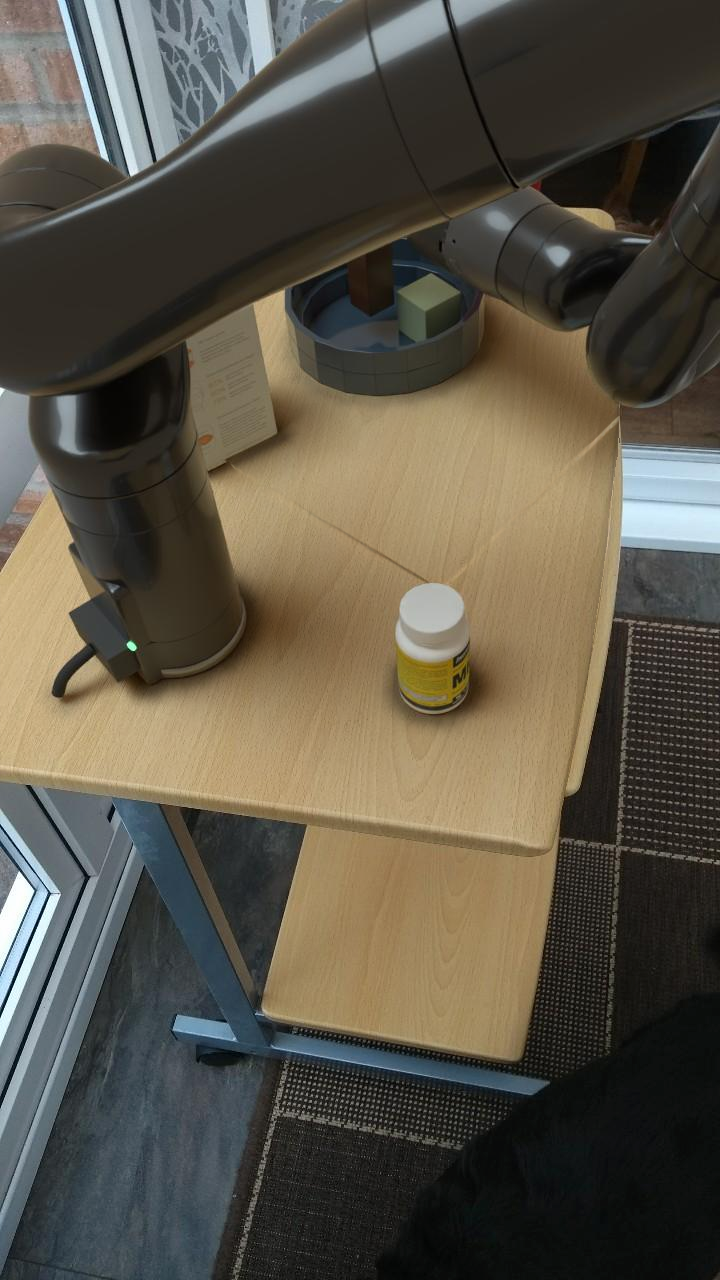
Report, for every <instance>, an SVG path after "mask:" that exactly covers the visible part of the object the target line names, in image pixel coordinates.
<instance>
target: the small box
mask: <svg viewBox="0 0 720 1280" xmlns="http://www.w3.org/2000/svg"><path fill="white" fill-rule="evenodd" d="M257 322H258V321H257V317H256V313H255V307H254V303H253V304H251V305H249V306H247V307H245V308H243V309H241V310H239V311H237V312H235V313H233V314H231V315H230V316H228V317H226V318H224V319H222V320H220V321H219V322H217V323H215V324H213V325H211V326H209V327H208V328H206V329H204V330H203V331H201V332H199V333H197V334H196V335H194V336H192V337H190V338H189V339H187V340H186V344H187V349H188V355H189V362H190V374H191V406H192V412H193V416H194V420H195V424H196V429H197V433H198V437H199V440H200V444H201V448H202V452H203V456H204V460H205V464H206V467H207V471H208V472H210V471H211V470H214V469H216V468H218V467H220V466H221V465H223V464H226V463H228V461H227V459H229V458H231V457H233V456H235V455H238V454H240V453H241V452H243V451H246V450H248V449H250V448H251V447H254V446H256V445H258V444H260V443H262V442H264V441H266V440H268V439H270V438H271V437H274V436H275V435H277V434H278V428H277V421H276V418H275V413H274V412H275V411H274V406H273V399H272V394H271V390H270V385H269V379H268V375H267V370H266V364H265V359H264V354H263V350H262V344H261V338H260V332H259V327H258V323H257Z"/></svg>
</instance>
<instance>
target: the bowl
mask: <svg viewBox="0 0 720 1280" xmlns="http://www.w3.org/2000/svg"><path fill="white" fill-rule="evenodd" d="M391 247H392V265H393V283H394V301H395V304H394V305H392V306H390V307H388V308H386V309H385V310H383V311H381V312H379V313H377V314H375V315H374V316H372V317H369V316H368V315H366V314H365V313H363V312H362V311H360V310H359V309H357V308H356V307H355V306H353V305H352V304H351V301H350V290H349V279H348V269H347V263H346V264H343V265H341V266H339V267H337V268H334V269H332V270H330V271H328V272H325V273H323V274H321V275H318V276H316V277H314V278H312V279H309V280H307V281H305V282H302V283H300V284H297V285H295V286H293V287H290V288H288V289H285V290H284V313H285V314H284V315H285V319H286V320H285V321H286V327H287V332H288V339H289V346H290V351H291V353H292V356H293V357H294V359H295V361H296V362H297V364H298V366H299V367H300V369H301V370H302V371H304V372H305V373H306V374H307V375H309V376H310V377H312V378H313V379H314V380H316V381H317V382H318V383H320V384H323V385H325V386H328V387H331V388H333V389H336V390H339V391H342V392H345V393H349V394H357V395H368V396H374V397H375V396H377V397H379V396H391V395H401V394H409V393H410V394H411V393H413V392H417V391H420V390H423V389H426V388H430V387H433V386H436V385H439V384H440V383H442V382H444V381H446V380H447V379H448V378H451V377H452V376H454V375H456V374H457V373H459V372H460V371H462V370H463V369H464V368H465V367H466V366H467V365H468V364H469V363H470V362H471V361H472V359H473V358H474V357H475V356H476V355H477V353H478V352H479V350H480V346H481V344H482V340H483V337H484V334H485V306H486V305H485V304H486V303H485V301H486V294H484V293H483V292H481V291H479V290H477V289H475V288H474V287H472V286H470V285H469V284H467V283H466V282H464V281H462V280H461V279H459V278H457V277H455V276H454V275H452V274H451V273H449V272H447V271H446V270H444V269H442V268H441V267H439V266H438V265H436V264H434V263H433V262H431V261H429V260H428V259H426V258H424V257H423V256H421V255H420V254H419V253H418V252H417V251H416V250H415V249H414V248H413V246H412V245H411V243H410V242H409V241H408V239H407V238H406V237H404V238H402V239H399V240H397V241H395V242H392V243H391ZM431 273H432V274H433V275H435V276H437V277H438V278H440V279H441V280H443V281H444V282H446V283H447V284H449V285H450V286H452V287H454V288H455V289H457V290H458V291H460V292H461V320H460V321H459V322H458V323H457V324H456V325H454V326H453V327H451V328H449V329H447V330H446V331H444V332H442V333H440V334H439V335H437V336H435V337H433V338H430V339H426V340H423V341H420V342H415V341H413V340H412V339H411V338H409V337H408V336H406V335H405V334H404V333H402V332H401V331H399V329H398V313H397V294H396V292H397V291H398V290H400V289H402V288H404V287H406V286H408V285H410V284H411V283H413V282H415V281H417V280H419V279H421V278H423V277H425V276H427V275H429V274H431Z"/></svg>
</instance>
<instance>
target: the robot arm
mask: <svg viewBox="0 0 720 1280" xmlns="http://www.w3.org/2000/svg"><path fill="white" fill-rule="evenodd" d="M718 105H720V0H348V1H347V2H345V3H343V4H342V5H340V6H339V7H337V8H336V9H334V10H333V11H332V12H330V13H328V14H327V15H325V16H324V17H323V18H321V19H320V20H318V21H317V22H316V23H315V24H313V25H312V26H310V27H309V28H308V29H307V30H306V31H304V32H303V33H302V34H300V35H299V36H298V37H297V38H295V40H294V41H293V40H292V42H291V43H290V44H289V45H287V46H286V47H285V48H284V49H283V50H282V51H280V52H279V53H278V55H275V57H274V58H273V59H271V60H270V61H269V62H268V63H267V64H265V66H264V67H262V69H260V70H259V71H258V72H257V73H256V74H255V75H254V76H253V77H252V78H251V79H250V80H248V81H247V83H245V85H243V86H242V87H241V88H240V89H239V90H238V91H237V92H236V93H235V94H234V95H233V96H232V97H230V98H229V100H228V101H226V102H225V103H224V104H223V105H222V106H221V107H220V108H219V109H218V110H217V111H216V112H215V113H214V114H213V115H212V116H211V117H209V118H208V119H207V120H206V121H205V122H204V123H203V124H202V125H201V126H199V128H198V129H197V130H196V131H194V132H193V133H192V134H191V135H190V136H188V138H186V139H185V140H184V141H182V143H180V144H179V145H178V146H176V147H175V148H173V150H171V151H170V152H169V153H167V154H166V155H164V156H162V157H161V158H160V159H158V160H157V161H155V162H154V163H152V164H151V165H149V166H147V167H145V168H144V169H142V170H141V171H139V172H137V173H135V174H133V175H131V176H129V177H127V175H125V174H124V173H123V172H122V171H121V170H120V169H119V168H118V167H116V166H115V165H114V164H113V163H111V162H109V161H108V160H106V159H105V158H103V157H101V156H100V155H99V154H96V153H94V152H92V151H90V150H88V149H85V148H82V147H79V146H76V145H71V144H66V143H40V144H36V145H31V146H28V147H26V148H23V149H20V150H18V151H16V152H14V153H12V154H11V155H9V156H8V157H7V158H5V159H4V160H3V161H2V162H1V163H0V389H3V390H6V391H8V392H11V393H14V394H19V395H24V396H28V406H27V408H28V410H27V428H28V436H29V439H30V443H31V446H32V449H33V451H34V454H35V456H36V458H37V461H38V463H39V465H40V468H41V470H42V472H43V474H44V475H45V478H46V480H47V482H48V485H49V487H50V489H51V491H52V495H53V497H54V499H55V501H56V503H57V506H58V508H59V510H60V513H61V514H62V517H63V520H64V521H65V524H66V526H67V528H68V530H69V533H70V536H71V538H72V540H73V541H72V542H71V543H69V544H68V546H67V547H68V548H67V549H68V552H69V554H70V556H71V558H72V561H73V563H74V565H75V567H76V569H77V572H78V574H79V576H80V579H81V581H82V583H83V585H84V588H85V590H86V592H87V594H88V597H89V600H87V601H86V602H84V603H82V604H80V605H79V606H77V607H75V608H73V609H72V610H69V612H68V615H69V617H70V620H71V622H72V623H73V626H74V628H75V630H76V632H77V634H78V636H79V638H80V639H81V640H82V642H84V644H85V645H84V646H83V647H82V649H80V650H78V652H76V654H75V655H73V656H72V657H71V658H70V659H69V660H68V661H67V662H66V663H65V664H64V665H63V666H62V667H61V669H60V670H59V672H58V673H57V675H56V676H55V679H54V681H53V684H52V689H51V695H52V697H54V698H57V699H61V698H64V697H65V695H66V694H65V693H66V690H67V686H68V683H69V681H70V680H71V678H72V677H73V676H74V675H75V674H76V673H77V672H78V671H79V670H80V669H81V668H82V667H84V665H85V664H87V663H88V662H89V661H90V660H91V659H92V658H94V656H95V657H96V658H97V659H98V660H99V662H100V663H101V664H102V665H103V667H104V668H105V669H106V671H108V672H109V674H110V675H111V676H112V678H113V679H114V680H115V681H116V682H117V684H118V683H121V682H122V681H124V680H125V679H127V678H128V677H130V676H131V675H133V674H135V673H136V672H137V673H138V675H140V677H141V678H142V679H143V680H144V681H145V683H146V684H147V685H154V684H155V683H156V682H159V681H160V680H162V679H165V678H167V679H168V678H171V679H172V678H183V677H189V676H191V675H192V676H193V675H196V674H200V673H202V672H204V671H207V670H208V669H211V668H213V667H214V666H216V665H217V664H219V663H220V662H222V661H223V660H224V659H226V658H227V657H228V656H229V655H230V654H231V653H232V652H233V651H234V650H235V649H236V647H237V646H238V645H239V642H240V641H241V639H242V637H243V635H244V633H245V629H246V626H247V625H246V624H247V610H246V606H245V602H244V599H243V596H242V594H241V590H240V586H239V583H238V580H237V577H236V573H235V570H234V566H233V562H232V559H231V555H230V551H229V547H228V543H227V539H226V536H225V533H224V528H223V524H222V520H221V517H220V513H219V510H218V506H217V501H216V498H215V495H214V494H215V493H214V491H213V487H212V483H211V479H210V475H209V471H207V467H206V464H205V460H204V456H203V452H202V448H201V444H200V440H199V437H198V433H197V429H196V424H195V420H194V416H193V412H192V406H191V374H190V362H189V355H188V349H187V344H186V340H187V339H189V338H190V337H192V336H194V335H196V334H197V333H199V332H201V331H203V330H204V329H206V328H208V327H209V326H211V325H213V324H215V323H217V322H219V321H220V320H222V319H224V318H226V317H228V316H230V315H231V314H233V313H235V312H237V311H239V310H241V309H243V308H245V307H247V306H249V305H251V304H253V305H254V304H255V303H257V302H259V301H261V300H264V299H266V298H268V297H271V296H273V295H275V294H278V293H280V292H282V291H285V289H288V288H290V287H293V286H295V285H297V284H300V283H302V282H305V281H307V280H309V279H312V278H314V277H316V276H318V275H321V274H323V273H325V272H328V271H330V270H332V269H334V268H337V267H339V266H341V265H343V264H346V263H348V262H350V261H352V260H354V259H357V258H359V257H361V256H363V255H366V254H368V253H370V252H372V251H374V250H377V249H379V248H381V247H383V246H386V245H388V244H390V243H392V242H395V241H397V240H399V239H402V238H404V237H406V238H407V239H408V241H409V242H410V243H411V245H412V246H413V248H414V249H415V250H416V251H417V252H418V253H419V254H420V255H421V256H423V257H424V258H426V259H428V260H429V261H431V262H433V263H434V264H436V265H438V266H439V267H441V268H442V269H444V270H446V271H447V272H449V273H451V274H452V275H454V276H455V277H457V278H459V279H461V280H462V281H464V282H466V283H467V284H469V285H470V286H472V287H474V288H475V289H477V290H479V291H481V292H483V293H484V294H485V295H487V296H489V297H492V298H495V299H496V300H497V299H498V300H500V301H502V302H504V303H506V304H507V305H509V306H511V308H514V309H515V310H517V311H519V312H520V313H522V314H524V315H525V316H527V317H528V318H530V319H532V320H534V322H536V323H539V324H541V325H542V326H544V327H546V328H548V329H550V330H551V331H554V332H561V333H572V332H576V331H579V330H583V329H585V328H587V333H586V338H585V346H584V347H585V349H584V351H585V360H586V366H587V370H588V373H589V375H590V378H591V379H592V381H593V383H594V385H595V386H596V388H597V389H598V390H599V392H601V394H603V395H604V397H606V398H607V399H609V400H610V401H612V402H613V403H616V404H618V405H620V406H622V407H626V408H630V409H647V408H649V409H650V408H653V407H656V406H660V405H662V404H664V403H666V402H667V401H670V400H671V399H673V398H674V397H675V396H677V395H678V394H680V393H681V392H683V391H684V390H685V389H687V388H688V387H689V386H690V385H691V384H693V383H694V382H695V381H697V380H698V379H699V378H701V377H702V376H704V375H705V374H706V373H708V372H709V371H710V370H711V369H713V368H714V367H715V366H717V365H718V364H719V363H720V119H719V121H718V122H717V124H716V126H715V128H714V130H713V132H712V134H711V136H710V137H709V140H708V141H707V143H706V145H705V146H704V148H703V150H702V151H701V154H700V156H699V157H698V159H697V161H696V163H695V165H694V166H693V168H692V170H691V172H690V174H689V176H688V177H687V180H686V181H685V183H684V184H683V186H682V188H681V190H680V192H679V194H678V195H677V198H676V199H675V201H674V203H673V205H672V207H671V209H670V211H669V213H668V215H667V216H666V217H667V218H666V219H665V221H664V223H663V225H662V226H661V227H660V228H659V230H658V232H657V233H656V234H655V235H654V236H653V235H648V234H642V233H638V232H632V231H624V230H616V229H615V230H614V229H607V228H603V227H600V226H598V225H596V224H595V223H593V222H591V221H589V220H587V219H586V218H584V217H582V216H579V215H578V214H576V213H575V212H572V211H570V210H568V209H566V208H564V207H562V206H561V205H558V204H557V203H555V202H554V201H552V200H551V199H550V198H548V196H546V195H545V194H543V192H541V191H540V192H539V191H537V190H536V189H534V188H532V187H531V186H530V185H532V184H534V183H536V182H538V181H541V182H542V181H543V180H544V179H546V178H549V177H551V176H553V175H555V174H556V173H557V174H558V173H559V172H560V171H563V170H565V169H567V168H569V167H571V166H574V165H576V164H578V163H580V162H582V161H584V160H586V159H588V158H590V157H593V156H595V155H598V154H600V153H604V152H605V151H608V150H610V149H612V148H615V147H617V146H619V145H622V144H625V143H627V142H629V141H631V140H635V139H637V138H638V137H639V138H640V137H641V136H644V135H647V134H648V133H651V132H653V131H656V130H658V129H661V128H663V127H665V126H668V125H671V124H673V123H675V122H678V121H681V120H683V119H686V118H688V117H690V116H693V115H695V114H698V113H701V112H703V111H706V110H709V109H710V108H713V107H716V106H718Z"/></svg>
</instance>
